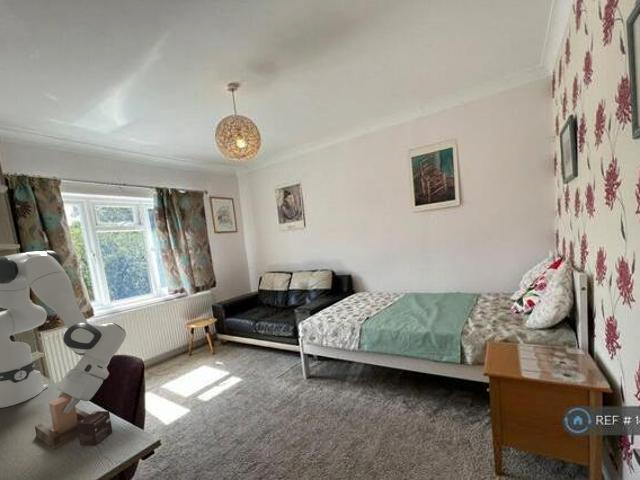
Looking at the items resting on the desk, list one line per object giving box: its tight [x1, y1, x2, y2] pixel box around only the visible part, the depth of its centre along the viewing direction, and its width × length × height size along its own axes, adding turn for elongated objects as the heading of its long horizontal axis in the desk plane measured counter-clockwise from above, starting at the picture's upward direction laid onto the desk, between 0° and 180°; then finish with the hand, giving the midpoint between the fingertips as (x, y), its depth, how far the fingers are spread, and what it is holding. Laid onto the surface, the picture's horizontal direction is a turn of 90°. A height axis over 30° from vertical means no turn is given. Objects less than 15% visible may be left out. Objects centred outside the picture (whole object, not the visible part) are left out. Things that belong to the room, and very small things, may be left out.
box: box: [77, 410, 113, 447], centre depth 93 cm, size 6×6×7 cm
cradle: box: [34, 406, 91, 450], centre depth 99 cm, size 16×11×4 cm
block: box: [48, 394, 78, 434], centre depth 99 cm, size 5×5×10 cm
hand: (60, 410), depth 98 cm, fingers open, 6 cm apart
